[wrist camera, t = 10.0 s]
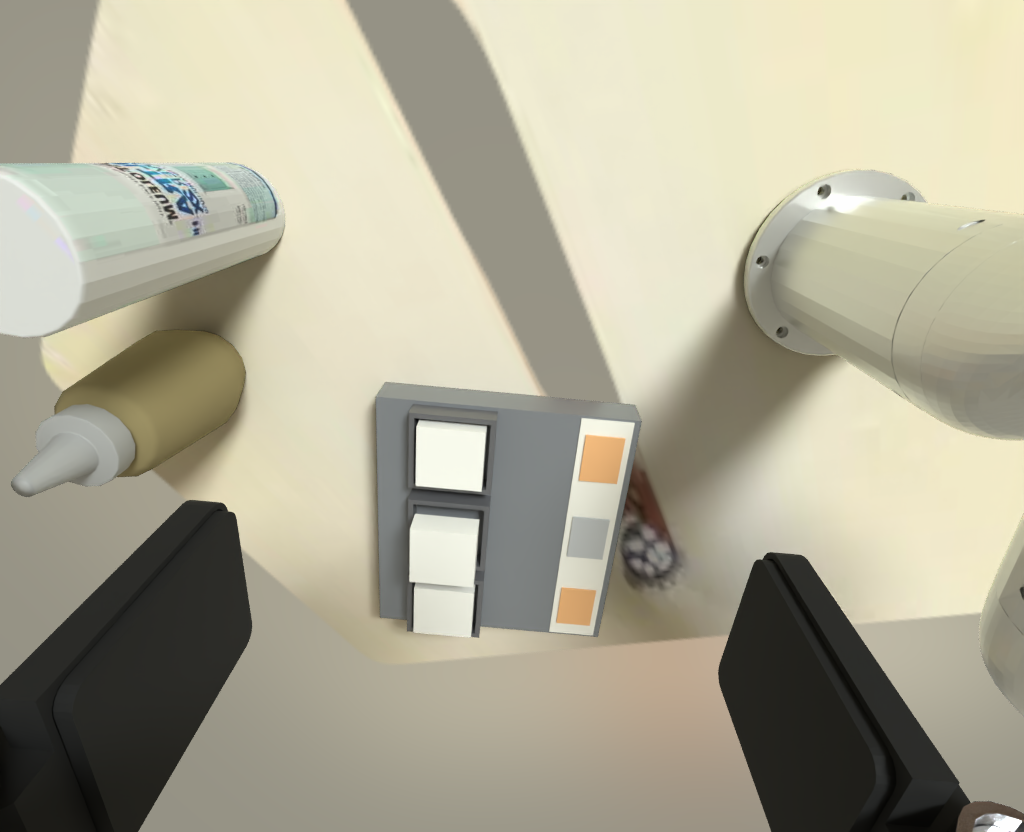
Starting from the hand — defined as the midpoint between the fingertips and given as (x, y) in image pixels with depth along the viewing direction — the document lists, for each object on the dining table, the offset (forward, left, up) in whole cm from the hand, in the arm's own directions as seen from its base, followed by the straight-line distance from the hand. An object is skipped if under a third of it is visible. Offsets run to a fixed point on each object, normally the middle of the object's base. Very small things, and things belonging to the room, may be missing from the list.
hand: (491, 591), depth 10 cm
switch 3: (+4, +29, -30) cm, 42 cm away
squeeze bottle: (+24, +10, -34) cm, 42 cm away
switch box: (0, +21, -33) cm, 39 cm away
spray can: (+20, -2, -34) cm, 39 cm away
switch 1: (+4, +13, -30) cm, 33 cm away
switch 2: (+4, +21, -28) cm, 35 cm away
